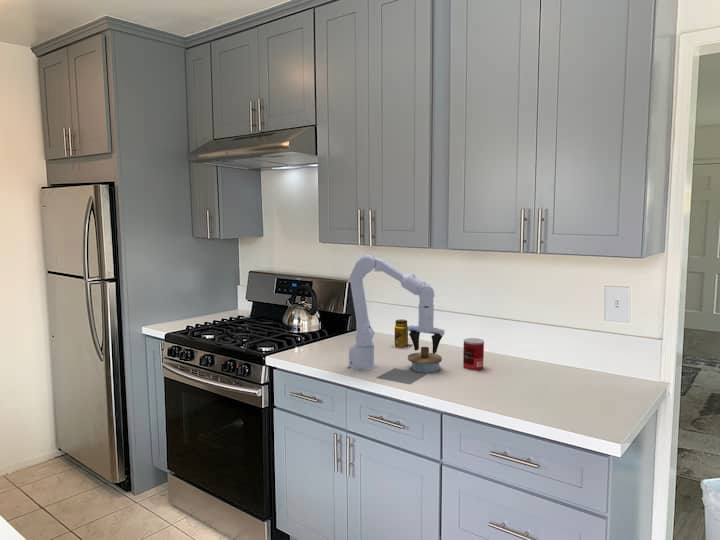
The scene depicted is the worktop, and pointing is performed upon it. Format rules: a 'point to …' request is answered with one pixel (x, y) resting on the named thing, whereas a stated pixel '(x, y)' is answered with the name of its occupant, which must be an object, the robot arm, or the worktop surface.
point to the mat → (401, 376)
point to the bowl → (425, 367)
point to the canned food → (473, 353)
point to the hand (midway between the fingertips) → (425, 351)
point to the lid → (424, 357)
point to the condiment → (401, 334)
